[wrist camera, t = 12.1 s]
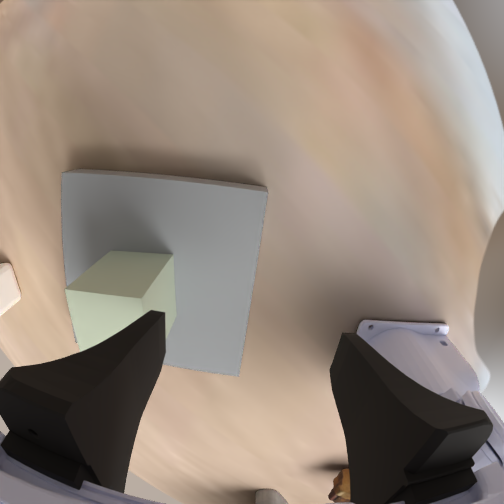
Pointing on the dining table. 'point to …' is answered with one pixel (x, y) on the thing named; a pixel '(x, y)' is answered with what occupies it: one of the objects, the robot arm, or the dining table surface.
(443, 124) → the dining table surface
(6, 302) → the pepper shaker
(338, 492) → the wooden carving
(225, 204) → the slate block
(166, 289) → the sage block
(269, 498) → the hip flask
